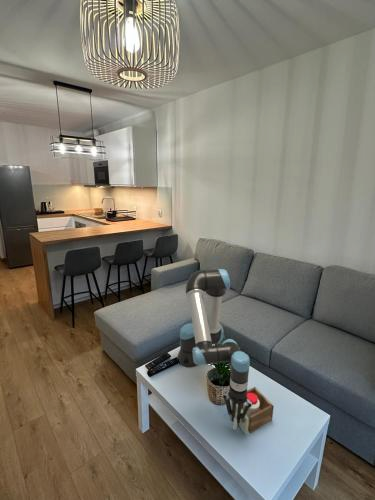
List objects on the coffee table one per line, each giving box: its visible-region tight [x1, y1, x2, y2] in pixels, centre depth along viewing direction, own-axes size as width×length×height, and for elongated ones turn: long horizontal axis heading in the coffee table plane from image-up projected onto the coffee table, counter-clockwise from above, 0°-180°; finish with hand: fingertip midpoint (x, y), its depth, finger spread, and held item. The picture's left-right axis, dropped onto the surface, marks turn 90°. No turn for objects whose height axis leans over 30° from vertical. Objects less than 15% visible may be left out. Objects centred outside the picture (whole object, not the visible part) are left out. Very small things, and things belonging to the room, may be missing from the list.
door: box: [230, 400, 249, 436], centre depth 124 cm, size 13×2×9 cm, turn 23°
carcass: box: [241, 386, 275, 434], centre depth 127 cm, size 13×14×9 cm
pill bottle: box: [243, 393, 260, 422], centre depth 126 cm, size 8×8×11 cm
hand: (235, 426), depth 121 cm, fingers closed
